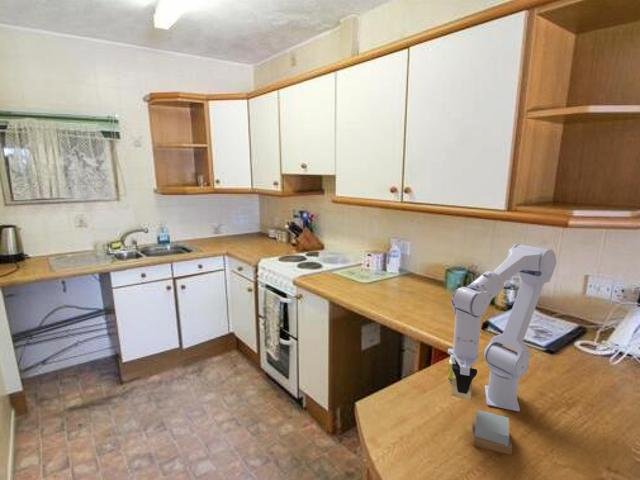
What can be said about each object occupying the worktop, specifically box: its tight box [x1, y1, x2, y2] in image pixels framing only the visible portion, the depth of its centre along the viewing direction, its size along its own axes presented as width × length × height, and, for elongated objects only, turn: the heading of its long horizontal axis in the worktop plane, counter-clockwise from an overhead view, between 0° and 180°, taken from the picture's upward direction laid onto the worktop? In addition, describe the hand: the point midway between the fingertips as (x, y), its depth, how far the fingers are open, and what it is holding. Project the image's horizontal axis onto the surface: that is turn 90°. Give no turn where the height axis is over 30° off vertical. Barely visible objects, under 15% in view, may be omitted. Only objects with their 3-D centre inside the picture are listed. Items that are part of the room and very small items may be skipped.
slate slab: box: [475, 409, 510, 446], centre depth 86 cm, size 7×7×2 cm
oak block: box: [450, 372, 473, 401], centre depth 91 cm, size 4×4×5 cm
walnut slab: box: [471, 416, 513, 455], centre depth 87 cm, size 8×8×2 cm
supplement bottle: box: [447, 355, 456, 384], centre depth 110 cm, size 5×5×8 cm
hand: (462, 386), depth 91 cm, fingers closed on oak block, 4 cm apart
